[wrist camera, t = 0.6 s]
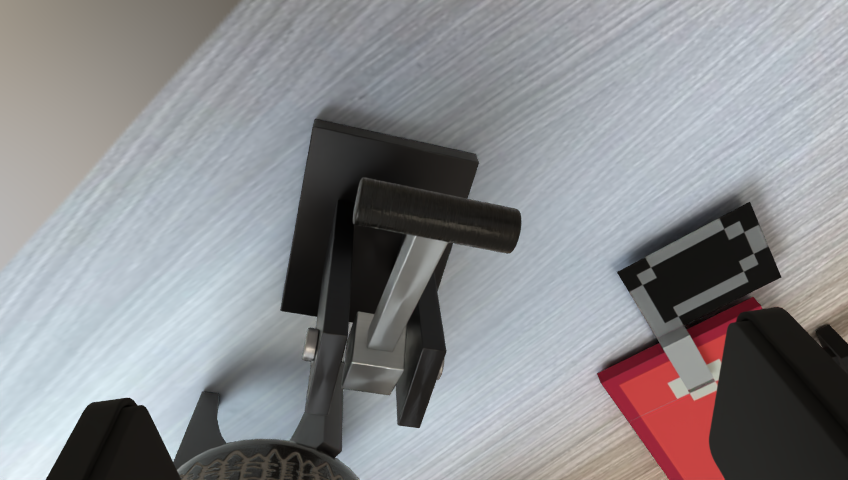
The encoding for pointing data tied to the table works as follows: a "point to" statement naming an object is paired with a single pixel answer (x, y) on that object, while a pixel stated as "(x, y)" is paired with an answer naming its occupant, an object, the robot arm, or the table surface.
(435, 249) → the tap lever
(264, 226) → the table surface
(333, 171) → the bracket
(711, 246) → the red board with handle
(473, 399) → the table surface
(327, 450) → the planter
